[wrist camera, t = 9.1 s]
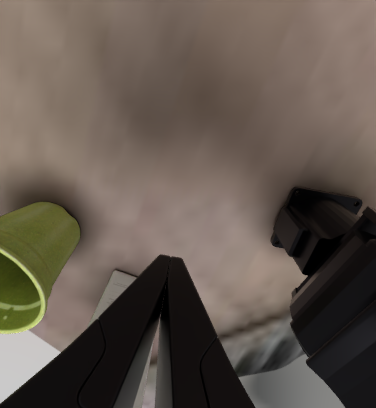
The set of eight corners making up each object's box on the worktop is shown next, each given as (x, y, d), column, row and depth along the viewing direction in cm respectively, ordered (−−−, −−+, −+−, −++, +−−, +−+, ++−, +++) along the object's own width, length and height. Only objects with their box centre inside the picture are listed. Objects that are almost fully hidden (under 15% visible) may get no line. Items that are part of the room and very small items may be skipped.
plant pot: (19, 257, 25) (-62, 327, 18) (-5, 180, 21) (-122, 226, 14) (99, 265, 25) (55, 339, 18) (91, 190, 21) (29, 242, 14)
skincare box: (115, 267, 25) (11, 474, 11) (167, 286, 26) (132, 500, 12) (97, 311, 29) (-1, 513, 15) (144, 327, 30) (95, 532, 16)
